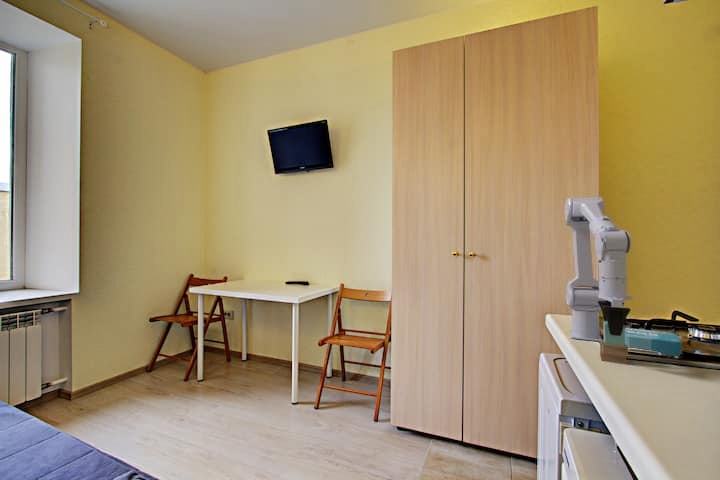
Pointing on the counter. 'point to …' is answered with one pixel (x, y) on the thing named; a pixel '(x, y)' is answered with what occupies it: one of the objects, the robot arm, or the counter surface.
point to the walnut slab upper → (613, 349)
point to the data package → (653, 341)
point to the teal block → (613, 336)
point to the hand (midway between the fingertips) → (613, 331)
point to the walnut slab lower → (612, 358)
